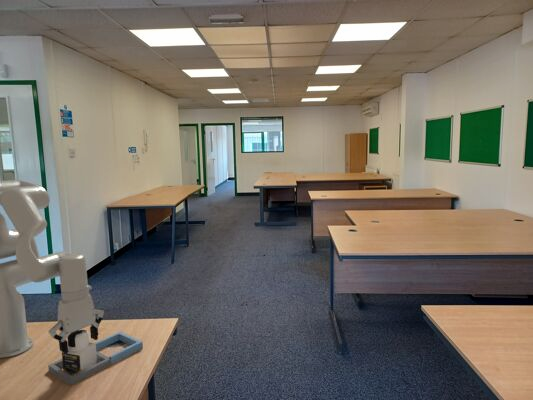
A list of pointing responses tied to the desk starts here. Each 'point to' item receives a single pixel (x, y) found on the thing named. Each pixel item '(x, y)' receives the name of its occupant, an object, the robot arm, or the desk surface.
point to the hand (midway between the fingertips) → (80, 345)
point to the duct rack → (99, 358)
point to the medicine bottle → (79, 352)
